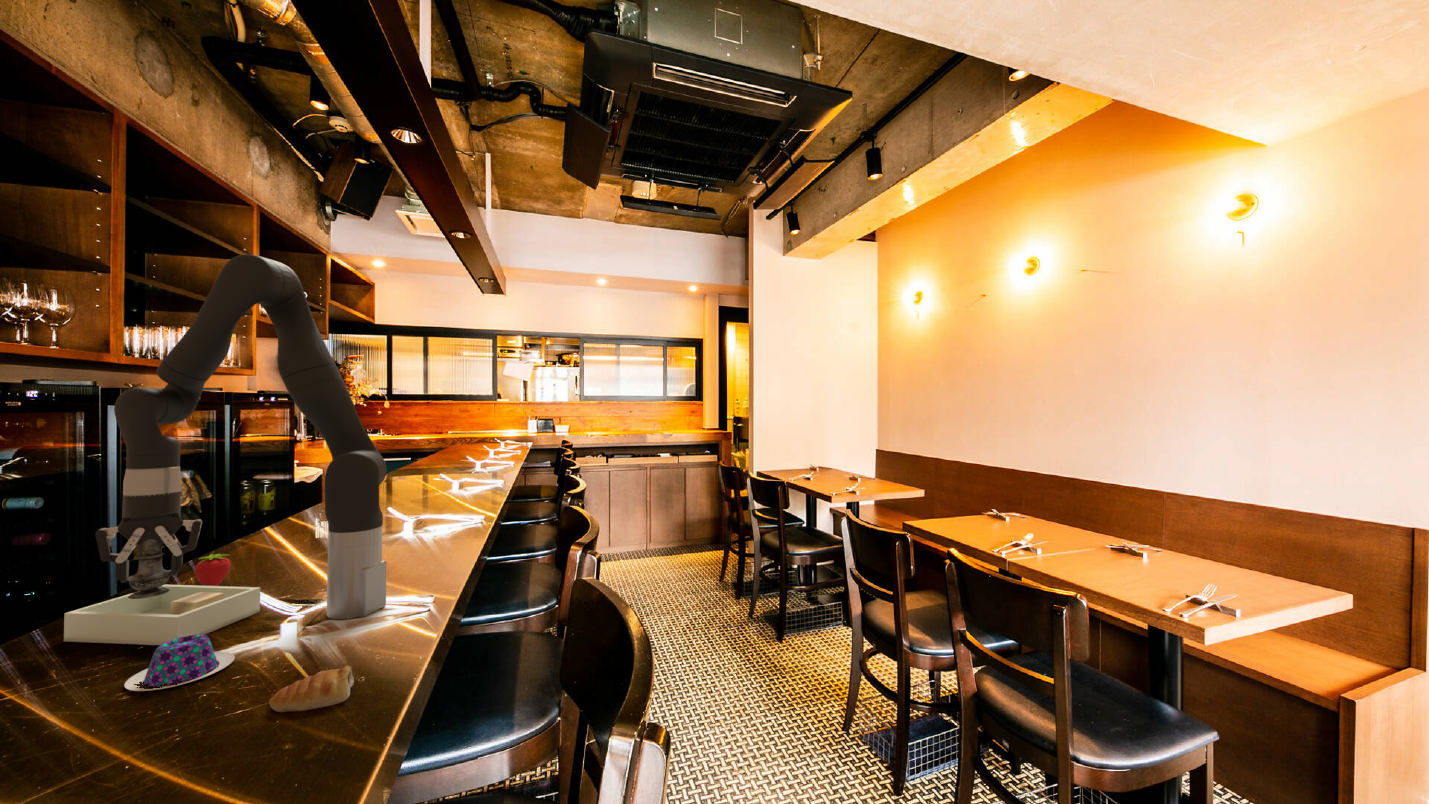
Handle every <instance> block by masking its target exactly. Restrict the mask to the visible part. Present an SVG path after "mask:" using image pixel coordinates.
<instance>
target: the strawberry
mask: <svg viewBox="0 0 1429 804" xmlns="http://www.w3.org/2000/svg"><path fill="white" fill-rule="evenodd" d="M227 556H230V554H222V553H217V554H214V552H212V553H210V554H209V555H207V556H201V557H200V558H198V560H201V561H199V562H198V563H197V564H196V565H195V567H194V574H195V577H196V580H197V581H198V582H199V583H200V584H201V586H220V584H222V582H223V581H224V579H225V578H227V576H228V574H229V572H230V569H231V568H232V567H231V566H232V565H231V561H230V559H229V558H227Z"/></svg>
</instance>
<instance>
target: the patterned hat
mask: <svg viewBox="0 0 1429 804" xmlns="http://www.w3.org/2000/svg"><path fill="white" fill-rule="evenodd" d="M235 658H236V656H235V654H233V653H232V652H228V651H214V647H213V644H212V642H211V638H210V637H209V636H208V635H207V634H205V635H190V636H185V637H179V638H176V639H174V640H171V641H167V642H165V643H163V644H162V645H158V647H156V649H155V650H154V651H153V654H152V656H151V658H150V659H151V660H150V663H149V665H148V668H146V669H143V670H141V671H139V672H138V673H136V674H134V675H132V676H130V677H129V678H128V679H126V681H125V683H124V684H123V685H124V688H125V689H126V690H129V691H134V692H145V691H148V692H149V691H156V690H163V689H169V688H173V687H177V686H182V685H185V684H189V683H192V682H195V681H198V680H201V679H204V678H206V677H208V676H211V675H213V674H215V673H217V672H219V671H221V670H223V669H225V668H227V667H228V666H229V665H231V664H232V663H233V662H234V660H235ZM218 663H219V664H218ZM139 682H142V683H143V682H144V683H143V685H148V687H149V686H153V687H155V686H157V687H160V688H153V689H144V688H139V687H140V686H137V685H134V684H140V683H139ZM164 684H167V685H164ZM172 684H174V685H172ZM175 684H177V685H175ZM160 685H162V686H160ZM170 685H171V686H170ZM137 687H138V688H137ZM161 687H162V688H161Z"/></svg>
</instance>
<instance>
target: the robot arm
mask: <svg viewBox="0 0 1429 804" xmlns="http://www.w3.org/2000/svg"><path fill="white" fill-rule="evenodd" d="M227 261H228V262H226V263H225V265H224V266H223V267H222V269H221V270H220V272H219V274H218V276H217V278H216V280H215V282H214V283H213V285H212V288H211V289H210V291H209V293H208V294H207V297H206V298H205V300H204V302H203V304H202V305H201V307H200V309H199V311H198V313H197V315H196V316H195V318H194V319H193V322H192V323H191V325H190V327H188V329H187V331H186V332H185V333H184V335H183V336H182V337H181V339H179V341H178V342H177V343H176V344H175V346H173V348H172V349H171V351H169V353H168V354H167V355H166V356H165V357H164V359H163V360H162V361H161V362H160V364H159V365H158V366H157V369H156V375H157V376H158V378H159V379H160V380H162V381H163V382H164V383H166V385H165V387H163V388H153V387H131V388H129V389H126V390H124V391H123V392H121V394H120V395H119V396H118V397H117V399H116V400H115V403H114V408H113V411H114V416H115V420H116V422H117V425H118V428H119V431H120V434H121V436H122V439H123V441H124V444H125V447H126V457H125V458H126V460H125V473H124V477H123V484H122V487H123V488H122V513H121V515H122V517H121V519H122V520H121V522H120V523H119V525H118V526H112V527H108V528H107V527H102V528H100V529H98V530H96V531H95V535H94V536H95V539H96V544H97V549H98V553H99V558H100V561H101V562H104V563H105V562H111V563H114V564H115V575H114V576H115V580H116V581H120V584H121V583H127V582H128V581H127V578H128V577H130V574H129V573H130V560H129V559H128V558H129V556H130V555H131V554H132V552H133V551H134V549H135V548H136V547H137V546H140V545H142V544H143V542H144V541H146V540H149V539H154V540H156V541H158V543H162V544H163V543H164V544H165V546H166V547H167V548H168V549H169V550H170V552H171V553H172V556H171V558H170V571H171V574H170V577H172V576H173V577H174V576H176V575H177V574H178V573H179V572H181V571H182V569H183V563H184V562H183V561H184V559H183V557H184V554H187V553H189V552H193V551H194V550H195V549H196V547H197V544H198V542H199V541H198V540H199V538H200V537H199V536H200V533H201V530H202V529H201V528H202V525H203V520H202V519H201V518H197V519H194V520H193V519H183V517H182V515H181V508H182V507H181V505H182V504H181V501H182V500H181V499H182V487H183V484H182V483H183V482H182V473H181V472H182V471H181V466H180V465H181V442H180V440H179V439H177V438H176V437H172V436H167V435H163V433H162V431H161V429H160V426H159V425H172V424H177V423H180V422H182V421H185V420H186V419H188V418H189V417H191V415H192V414H193V413H194V411H195V410H196V408H197V407H198V403H199V400H200V398H201V395H202V393H203V390H204V386H205V383H206V382H207V381H209V379H210V378H211V377H212V376H213V374H214V373H215V372H216V371H217V370H218V369H219V368H220V366H221V365H222V363H223V362H224V361H225V359H226V357H227V355H228V354H229V351H230V348H231V343H232V337H233V334H234V330H235V329H236V326H237V324H238V322H240V320H241V319H242V317H243V316H244V315H245V314H246V313H247V312H248V311H249V310H250V309H251V308H252V307H254V306H255V305H257V304H258V305H261V306H262V307H263V310H264V311H265V312H266V314H267V316H268V318H269V319H270V321H271V324H272V325H273V328H274V329H275V333H276V336H277V368H278V372H279V376H280V377H281V380H282V381H283V384H284V386H285V388H286V389H287V392H288V394H289V396H290V397H291V399H292V401H293V403H294V404H295V405H296V407H297V408H298V409H299V411H300V412H301V413H302V415H304V416H305V418H306V419H307V420H308V421H309V422H310V423H311V425H313V426H314V428H315V429H316V430H317V431H318V432H319V433H320V435H321V437H323V439H324V441H325V444H326V445H327V447H328V450H329V452H330V454H331V458H332V460H331V461H330V463H329V464H328V465H327V468H326V471H325V475H324V476H325V477H324V512H325V514H324V515H325V518H326V521H327V523H328V524H327V525H328V529H327V530H328V531H327V532H328V533H327V537H328V538H327V573H326V574H327V581H326V582H327V584H326V617H327V618H329V619H332V620H345V619H346V620H347V619H353V618H360V617H362V618H363V617H367V616H368V615H370V614H372V613H374V612H376V611H378V610H379V609H382V608H383V606H384V607H385V606H387V568H388V567H387V566H388V565H387V564H388V563H387V561H386V560H383V527H384V523H383V522H384V521H383V520H384V518H383V517H384V515H383V514H384V513H383V512H382V510H381V506H380V486H381V484H383V482H384V481H385V478H386V476H387V465H386V461H385V460H384V458H383V456H382V455H381V452H380V451H379V450H378V449H377V446H376V445H375V443H374V442H373V440H372V439H371V437H370V436H369V435H368V433H367V431H366V429H365V428H364V425H363V424H362V422H361V420H360V419H361V418H360V417H359V415H358V412H357V409H356V407H355V405H354V402H353V400H352V397H351V394H350V392H349V390H348V388H347V385H346V383H345V381H344V379H343V377H342V375H341V373H340V371H339V368H338V367H337V364H336V362H335V360H334V358H333V357H332V355H331V353H330V351H329V348H328V346H327V345H326V342H325V340H324V339H323V336H322V334H321V333H320V330H319V328H318V327H317V324H316V322H315V319H314V317H313V313H312V312H311V308H310V306H309V303H308V300H307V297H306V294H305V291H304V288H303V286H302V283H301V281H300V279H299V276H298V275H297V274H296V272H295V271H294V270H293V269H292V268H291V267H289V266H288V265H286V264H284V263H282V262H280V261H277V260H274V259H270V258H267V257H264V256H260V255H256V254H251V253H249V254H248V253H246V254H244V253H243V254H240V255H239V254H238V255H235V256H233V257H232V258H231V259H229V260H227ZM183 526H184V527H185V530H186V531H188V532H190V533H189V536H188V541H187V544H185V545H183V546H182V545H181V543H180V541H179V539H178V538H177V537H176V535H175V533H176V532H177V531H178V530H179V529H180V528H181V527H183ZM117 533H120V535H122V536H123V537H124V538H126V539H127V542H126V543H125V545H124V546H123V547H122V549H121V551H120V552H119V553H114V550H113V544H112V541H111V540H113V539H114V538H115V536H116V534H117Z"/></svg>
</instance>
